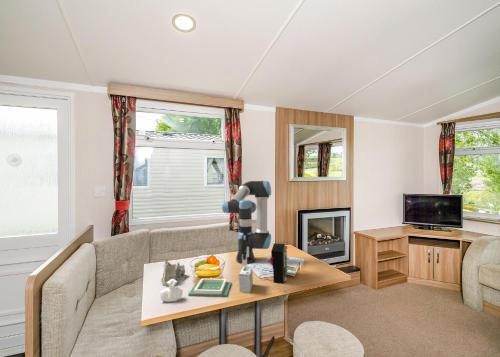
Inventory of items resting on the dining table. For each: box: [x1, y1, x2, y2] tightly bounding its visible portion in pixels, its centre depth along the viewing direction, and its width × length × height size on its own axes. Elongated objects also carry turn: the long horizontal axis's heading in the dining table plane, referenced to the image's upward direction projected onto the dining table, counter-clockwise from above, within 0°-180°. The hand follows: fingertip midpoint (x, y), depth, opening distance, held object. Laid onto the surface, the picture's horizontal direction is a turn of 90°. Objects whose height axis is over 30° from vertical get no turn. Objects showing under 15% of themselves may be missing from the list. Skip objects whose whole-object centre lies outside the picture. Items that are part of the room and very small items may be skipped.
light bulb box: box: [238, 266, 254, 293], centre depth 135 cm, size 11×7×11 cm, turn 170°
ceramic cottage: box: [160, 257, 186, 288], centre depth 147 cm, size 16×16×15 cm
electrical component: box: [269, 243, 288, 284], centre depth 150 cm, size 18×10×20 cm, turn 168°
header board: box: [188, 277, 232, 298], centre depth 134 cm, size 16×22×3 cm
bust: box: [159, 279, 184, 303], centre depth 124 cm, size 12×8×11 cm
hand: (245, 260), depth 135 cm, fingers open, 13 cm apart
